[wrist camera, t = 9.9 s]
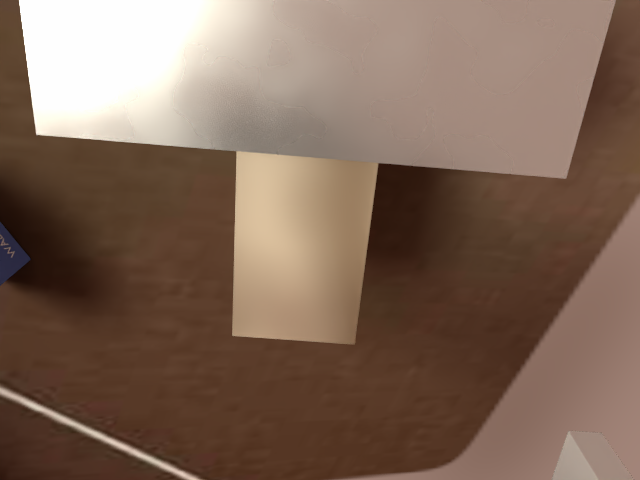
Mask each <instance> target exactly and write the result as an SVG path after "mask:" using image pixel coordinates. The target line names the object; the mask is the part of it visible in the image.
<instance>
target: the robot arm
mask: <svg viewBox="0 0 640 480" xmlns="http://www.w3.org/2000/svg"><path fill="white" fill-rule="evenodd" d="M552 480H634V479H633V477H632V476H631V475H630V473H629V472H628V470H627V469H626V467H625V466H624V465H623V463H622V462H621V460H620V459H619V457H618V456H617V454H616V453H615V451H614V450H613V448H612V447H611V446H610V444H609V443H608V441H607V440H606V438H605V437H604V435H603V434H602V433H598V432H581V431H568V434H567V437H566V439H565V442H564V445H563V448H562V451H561V454H560V457H559V460H558V463H557V465H556V468H555V471H554V474H553V477H552Z"/></svg>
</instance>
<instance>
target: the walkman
mask: <svg viewBox="0 0 640 480" xmlns="http://www.w3.org/2000/svg"><path fill="white" fill-rule="evenodd" d="M30 260H31V259H30V257H29V256H28V255H27V254H26V253H25V251H24V250H23V249H22V248H21V247H20V245H19V244H18V243H17V242H16V240H15V239H14V238H13V237H12V236H11V234H10V233H9V232H8V231H7V229H6V228H5V227H4V226H3V225H2V223H1V222H0V285H1V284H3V283H4V282H5V281H6V280H7V279H9V278H10V277H11V276H12V275H13V274H14V273H16V272H17V271H18V270H19V269H20V268H21V267H23V266H24V265H25V264H26V263H27V262H29V261H30Z"/></svg>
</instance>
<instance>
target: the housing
mask: <svg viewBox="0 0 640 480" xmlns="http://www.w3.org/2000/svg"><path fill="white" fill-rule="evenodd" d="M19 1H20V9H21V17H22V25H23V32H24V40H25V48H26V56H27V64H28V72H29V80H30V88H31V95H32V103H33V111H34V119H35V127H36V135H48V136H60V137H72V138H84V139H96V140H108V141H120V142H132V143H144V144H156V145H168V146H180V147H192V148H204V149H216V150H228V151H241V152H253V153H265V154H277V155H289V156H301V157H313V158H325V159H337V160H349V161H361V162H373V163H385V164H397V165H409V166H421V167H433V168H445V169H457V170H469V171H481V172H493V173H505V174H517V175H529V176H541V177H553V178H565V179H566V177H567V173H568V170H569V166H570V163H571V159H572V155H573V152H574V148H575V145H576V141H577V138H578V134H579V130H580V127H581V123H582V120H583V116H584V112H585V109H586V105H587V102H588V98H589V94H590V91H591V87H592V84H593V80H594V77H595V73H596V69H597V66H598V62H599V59H600V55H601V51H602V48H603V44H604V41H605V37H606V34H607V30H608V26H609V23H610V19H611V16H612V12H613V8H614V5H615V1H616V0H19Z"/></svg>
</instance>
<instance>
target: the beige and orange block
mask: <svg viewBox="0 0 640 480" xmlns="http://www.w3.org/2000/svg"><path fill="white" fill-rule="evenodd" d="M377 170H378V163H373V162H361V161H349V160H337V159H325V158H313V157H301V156H289V155H277V154H265V153H253V152H241V151H237V162H236V204H235V246H234V288H233V331H232V336H243V337H257V338H271V339H285V340H299V341H313V342H327V343H341V344H355V336H356V329H357V321H358V314H359V306H360V299H361V291H362V283H363V276H364V268H365V261H366V253H367V246H368V238H369V231H370V223H371V215H372V208H373V200H374V193H375V185H376V178H377Z"/></svg>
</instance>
